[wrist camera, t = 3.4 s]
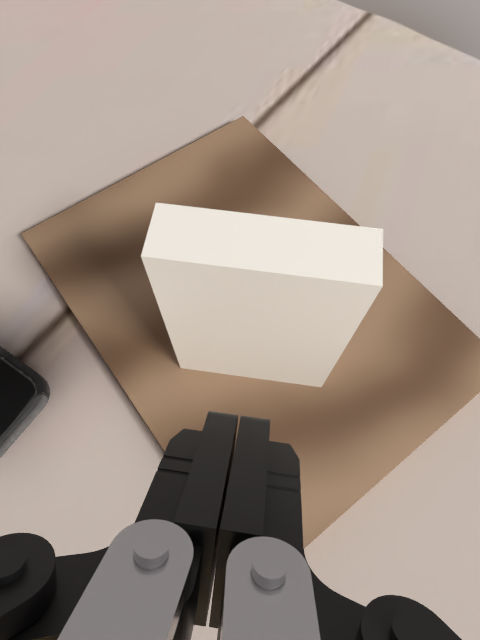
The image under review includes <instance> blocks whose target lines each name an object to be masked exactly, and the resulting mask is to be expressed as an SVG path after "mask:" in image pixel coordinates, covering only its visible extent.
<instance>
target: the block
mask: <svg viewBox="0 0 480 640" xmlns="http://www.w3.org/2000/svg"><path fill="white" fill-rule="evenodd" d="M141 258H142V261H143V264H144V267H145V269H146V272H147V275H148V278H149V281H150V284H151V286H152V289H153V292H154V295H155V298H156V300H157V303H158V306H159V309H160V312H161V315H162V317H163V320H164V323H165V326H166V329H167V331H168V334H169V337H170V340H171V343H172V345H173V348H174V351H175V354H176V357H177V360H178V362H179V365H180V368H184V369H191V370H198V371H206V372H213V373H220V374H228V375H235V376H242V377H250V378H257V379H264V380H271V381H279V382H286V383H293V384H301V385H308V386H315V387H322V385H323V384H324V382H325V381H326V379H327V377H328V376H329V374H330V372H331V371H332V369H333V367H334V366H335V364H336V362H337V361H338V359H339V357H340V356H341V354H342V352H343V351H344V349H345V348H346V346H347V344H348V343H349V341H350V339H351V338H352V336H353V334H354V333H355V331H356V329H357V328H358V326H359V324H360V323H361V321H362V320H363V318H364V316H365V315H366V313H367V311H368V310H369V308H370V306H371V305H372V303H373V301H374V300H375V298H376V296H377V295H378V293H379V292H380V290H381V288H382V287H383V229H378V228H370V227H361V226H352V225H344V224H335V223H327V222H318V221H310V220H301V219H293V218H284V217H276V216H267V215H258V214H250V213H241V212H233V211H224V210H216V209H207V208H199V207H190V206H182V205H173V204H164V203H156V204H155V207H154V211H153V215H152V218H151V222H150V225H149V229H148V232H147V236H146V240H145V243H144V247H143V250H142V254H141Z"/></svg>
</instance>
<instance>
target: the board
mask: <svg viewBox="0 0 480 640" xmlns="http://www.w3.org/2000/svg"><path fill="white" fill-rule="evenodd" d="M156 203H164V204H173V205H182V206H190V207H199V208H207V209H216V210H224V211H233V212H241V213H250V214H258V215H267V216H276V217H284V218H293V219H301V220H310V221H318V222H327V223H335V224H344V225H352V226H359V225H358V224H357V223H356V222H355V221H354V220H353V219H352V218H351V217H350V216H349V215H348V214H347V213H346V212H345V211H343V210H342V209H341V208H340V207H339V206H338V205H337V204H336V203H335V202H334V201H333V200H332V199H331V198H330V197H329V196H328V195H326V194H325V193H324V192H323V191H322V190H321V189H320V188H319V187H318V186H317V185H316V184H315V183H314V182H313V181H312V180H311V179H310V178H308V177H307V176H306V175H305V174H304V173H303V172H302V171H301V170H300V169H299V168H298V167H297V166H296V165H295V164H294V163H293V162H291V161H290V160H289V159H288V158H287V157H286V156H285V155H284V154H283V153H282V152H281V151H280V150H279V149H278V148H277V147H276V146H275V145H273V144H272V143H271V142H270V141H269V140H268V139H267V138H266V137H265V136H264V135H263V134H262V133H261V132H260V131H259V130H258V129H256V128H255V127H254V126H253V125H252V124H251V123H250V122H249V121H248V120H247V119H246V118H245V117H244V116H242V117H240V118H238V119H237V120H235V121H233V122H231V123H229V124H227V125H225V126H223V127H221V128H220V129H218V130H216V131H214V132H212V133H210V134H208V135H206V136H204V137H203V138H201V139H199V140H197V141H195V142H193V143H191V144H189V145H187V146H186V147H184V148H182V149H180V150H178V151H176V152H174V153H172V154H170V155H169V156H167V157H165V158H163V159H161V160H159V161H157V162H155V163H153V164H152V165H150V166H148V167H146V168H144V169H142V170H140V171H138V172H136V173H135V174H133V175H131V176H129V177H127V178H125V179H123V180H121V181H119V182H118V183H116V184H114V185H112V186H110V187H108V188H106V189H104V190H102V191H101V192H99V193H97V194H95V195H93V196H91V197H89V198H87V199H85V200H84V201H82V202H80V203H78V204H76V205H74V206H72V207H70V208H68V209H67V210H65V211H63V212H61V213H59V214H57V215H55V216H53V217H51V218H50V219H48V220H46V221H44V222H42V223H40V224H38V225H36V226H35V227H33V228H31V229H29V230H27V231H25V232H23V233H21V235H22V236H23V238H24V239H25V241H26V242H27V244H28V245H29V247H30V248H31V250H32V251H33V253H34V254H35V256H36V257H37V259H38V260H39V262H40V263H41V265H42V266H43V268H44V269H45V271H46V273H47V274H48V276H49V277H50V279H51V280H52V282H53V283H54V285H55V286H56V288H57V289H58V291H59V292H60V294H61V295H62V297H63V298H64V300H65V301H66V303H67V304H68V306H69V307H70V309H71V310H72V312H73V313H74V315H75V316H76V318H77V320H78V321H79V323H80V324H81V326H82V327H83V329H84V330H85V332H86V333H87V335H88V336H89V338H90V339H91V341H92V342H93V344H94V345H95V347H96V348H97V350H98V351H99V353H100V354H101V356H102V357H103V359H104V360H105V362H106V363H107V365H108V367H109V368H110V370H111V371H112V373H113V374H114V376H115V377H116V379H117V380H118V382H119V383H120V385H121V386H122V388H123V389H124V391H125V392H126V394H127V395H128V397H129V398H130V400H131V401H132V403H133V404H134V406H135V407H136V409H137V410H138V412H139V414H140V415H141V417H142V418H143V420H144V421H145V423H146V424H147V426H148V427H149V429H150V430H151V432H152V433H153V435H154V436H155V438H156V439H157V441H158V442H159V444H160V445H161V447H162V448H163V450H164V451H165V450H166V448H167V445H168V443H169V441H170V439H172V438H173V437H174V436H175V435H176V434H178V433H179V432H180V431H181V430H182V429H184V428H185V429H191V430H198V431H202V430H203V427H204V424H205V421H206V418H207V414H208V412H209V411H214V412H221V413H228V414H235V415H238V425H237V433H236V439H237V434H238V428H239V422H240V417H241V415H243V416H250V417H257V418H263V419H270V435H269V441H274V442H281V443H288V444H290V445H291V446H292V448H293V450H294V451H295V453H296V454H297V456H298V458H299V460H300V482H301V504H302V526H303V548H305V547H306V546H307V545H309V544H310V543H311V542H312V541H313V540H314V539H315V538H316V537H318V536H319V535H320V534H321V533H322V532H323V531H324V530H325V529H327V528H328V527H329V526H330V525H331V524H332V523H333V522H334V521H336V520H337V519H338V518H339V517H340V516H341V515H342V514H343V513H344V512H346V511H347V510H348V509H349V508H350V507H351V506H352V505H353V504H355V503H356V502H357V501H358V500H359V499H360V498H361V497H362V496H364V495H365V494H366V493H367V492H368V491H369V490H370V489H371V488H373V487H374V486H375V485H376V484H377V483H378V482H379V481H380V480H382V479H383V478H384V477H385V476H386V475H387V474H388V473H389V472H391V471H392V470H393V469H394V468H395V467H396V466H397V465H398V464H400V463H401V462H402V461H403V460H404V459H405V458H406V457H407V456H409V455H410V454H411V453H412V452H413V451H414V450H415V449H416V448H418V447H419V446H420V445H421V444H422V443H423V442H424V441H425V440H426V439H428V438H429V437H430V436H431V435H432V434H433V433H434V432H435V431H437V430H438V429H439V428H440V427H441V426H442V425H443V424H444V423H446V422H447V421H448V420H449V419H450V418H451V417H452V416H453V415H455V414H456V413H457V412H458V411H459V410H460V409H461V408H462V407H464V406H465V405H466V404H467V403H468V402H469V401H470V400H471V399H473V398H474V397H475V396H476V395H477V394H478V393H479V392H480V339H479V338H478V337H477V336H476V335H475V334H474V333H473V332H472V331H471V330H470V329H469V328H468V327H467V326H465V325H464V324H463V323H462V322H461V321H460V320H459V319H458V318H457V317H456V316H455V315H454V314H453V313H452V312H451V311H450V310H448V309H447V308H446V307H445V306H444V305H443V304H442V303H441V302H440V301H439V300H438V299H437V298H436V297H435V296H434V295H433V294H432V293H430V292H429V291H428V290H427V289H426V288H425V287H424V286H423V285H422V284H421V283H420V282H419V281H418V280H417V279H416V278H415V277H413V276H412V275H411V274H410V273H409V272H408V271H407V270H406V269H405V268H404V267H403V266H402V265H401V264H400V263H399V262H398V261H397V260H395V259H394V258H393V257H392V256H391V255H390V254H389V253H388V252H387V251H386V250H385V249H384V248H383V287H382V288H381V290H380V292H379V293H378V295H377V296H376V298H375V300H374V301H373V303H372V305H371V306H370V308H369V310H368V311H367V313H366V315H365V316H364V318H363V320H362V321H361V323H360V324H359V326H358V328H357V329H356V331H355V333H354V334H353V336H352V338H351V339H350V341H349V343H348V344H347V346H346V348H345V349H344V351H343V352H342V354H341V356H340V357H339V359H338V361H337V362H336V364H335V366H334V367H333V369H332V371H331V372H330V374H329V376H328V377H327V379H326V381H325V382H324V384H323V385H322V387H315V386H308V385H301V384H293V383H286V382H279V381H271V380H264V379H257V378H250V377H242V376H235V375H228V374H220V373H213V372H206V371H198V370H191V369H184V368H180V365H179V362H178V360H177V357H176V354H175V351H174V348H173V345H172V343H171V340H170V337H169V334H168V331H167V329H166V326H165V323H164V320H163V317H162V315H161V312H160V309H159V306H158V303H157V300H156V298H155V295H154V292H153V289H152V286H151V284H150V281H149V278H148V275H147V272H146V269H145V267H144V264H143V261H142V258H141V254H142V250H143V247H144V243H145V240H146V236H147V232H148V229H149V225H150V222H151V218H152V215H153V211H154V207H155V204H156ZM235 445H236V441H235Z"/></svg>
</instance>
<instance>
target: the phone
mask: <svg viewBox="0 0 480 640" xmlns="http://www.w3.org/2000/svg"><path fill="white" fill-rule="evenodd" d="M49 395H50V389H49V386H48V383H47V381H46V380H45V379H44V378H43V377H42V376H40V375H39V374H38V373H36V372H35V371H34V370H32V369H31V368H30V367H28V366H27V365H25V364H24V363H23V362H21V361H20V360H19V359H17V358H16V357H15V356H13V355H12V354H10V353H9V352H8V351H6V350H5V349H4V348H2V347H1V346H0V458H1V457H2V455H3V454H4V453H5V452H6V451H7V450H8V448H9V447H10V446H11V445H12V444H13V443H14V442H15V440H16V439H17V438H18V437H19V436H20V435H21V433H22V432H23V431H24V430H25V429H26V428H27V427H28V425H29V424H30V423H31V422H32V421H33V420H34V418H35V417H36V416H37V415H38V414H39V413H40V412H41V410H42V409H43V408H44V406H45V405H46V403H47V402H48V399H49Z"/></svg>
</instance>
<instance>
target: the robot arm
mask: <svg viewBox="0 0 480 640" xmlns="http://www.w3.org/2000/svg"><path fill="white" fill-rule="evenodd" d="M237 425H238V415H235V414H228V413H221V412H214V411H209V412H208V414H207V418H206V421H205V424H204V427H203V430H202V431H198V430H191V429H185V428H184V429H182V430H181V431H180V432H179V433H178V434H176V435H175V436H174V437H173V438H172V439H170V441H169V443H168V445H167V448H166V450H165V452H164V455H163V458H162V460H161V462H160V464H159V467H158V471H156V474H155V476H154V479H153V481H152V483H151V486H150V488H149V490H148V493H147V495H146V497H145V500H144V502H143V505H142V507H141V509H140V512H139V514H138V516H137V519H136V521H135V523H134V524H132V525H130V526H128V527H126V528H125V529H123V530H122V531H121V532H120V533H119V534H118V535H117V536H116V537H115V538H114V540H113V541H112V543H111V544H110V546H109V547H106V548H104V549H101V550H98V551H95V552H90V553H83V554H75V555H67V556H59V557H55V553H54V549H53V547H52V546H51V544H50V543H49V542H48V541H47V540H46V539H44V538H43V537H40V536H38V535H35V534H30V533H14V534H8V535H4V536H1V537H0V640H191V635H192V630H193V625H200V626H206V621H207V615H208V609H209V603H210V598H211V592H212V586H213V581H214V588H213V597H212V606H211V615H210V623H209V627H213V628H218V636H217V640H462V639H460V638H459V637H458V636H457V635H456V634H455V633H454V632H453V631H452V630H451V629H450V628H449V627H448V626H447V625H446V624H445V623H444V622H443V621H442V620H441V619H440V618H439V617H438V616H437V615H436V614H434V613H433V612H432V611H431V610H429V609H428V608H427V607H425V606H424V605H422V604H420V603H418V602H416V601H414V600H412V599H409V598H406V597H402V596H396V595H385V596H381V597H378V598H376V599H374V600H372V601H371V602H370V603H369V604H368V605H367V607H365V606H363V605H360V604H358V603H356V602H354V601H352V600H350V599H348V598H346V597H344V596H342V595H340V594H338V593H336V592H334V591H333V590H331V589H330V588H328V587H327V586H326V585H325V584H323V583H322V582H321V581H320V580H319V579H318V578H317V577H316V575H315V574H314V573H313V571H312V570H311V569H310V567H309V565H308V563H307V561H306V558H305V555H304V548H303V526H302V504H301V482H300V460H299V458H298V456H297V454H296V453H295V451H294V450H293V448H292V446H291V445H290V444H288V443H281V442H274V441H269V435H270V419H263V418H257V417H250V416H243V415H241V417H240V422H239V428H238V434H237V439H236V433H237ZM235 441H236V445H235ZM215 569H216V571H215ZM214 575H215V580H214Z"/></svg>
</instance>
